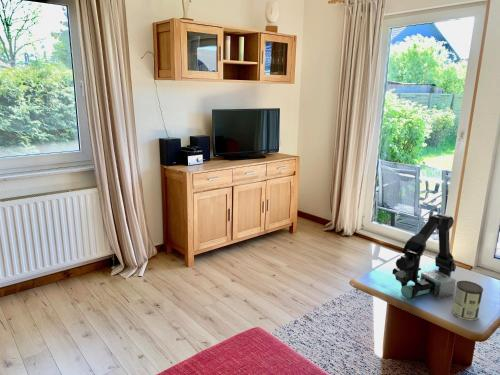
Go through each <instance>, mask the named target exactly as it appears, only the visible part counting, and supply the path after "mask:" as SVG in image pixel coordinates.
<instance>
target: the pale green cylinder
mask: <svg viewBox="0 0 500 375" xmlns="http://www.w3.org/2000/svg"><path fill="white" fill-rule="evenodd" d="M413 285H415V283H413V284H409V285H408V284H407V286H401V289H400V293H401V295H402V296H403V298H405V299H411V298H413V297H412V291H413V288H412V287H411V286H413ZM429 291H430V289H428V290H424V291H419V292H418V293H417V294H416V296H415V297H417V296H422V295H426V294H429Z"/></svg>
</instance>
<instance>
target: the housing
mask: <svg viewBox="0 0 500 375" xmlns="http://www.w3.org/2000/svg"><path fill="white" fill-rule="evenodd" d="M421 280H424V281H426V282H428V283H429V284H430V291H429V293H430V295H432V296H434V297H436V298H437V299H441V298H445V297H450V296H452V295H454V291H455V286H456V285H455V284H456V282H457V281H456V279H454V278H452V277H451V276H450V277H449V276H447V275H445V274H443V273H441V272H439V271H438V270H437V269H431V270H426V271H422V272H421V273H420V277H419V281H421ZM429 293H428V294H429Z"/></svg>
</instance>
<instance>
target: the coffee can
mask: <svg viewBox="0 0 500 375" xmlns="http://www.w3.org/2000/svg"><path fill="white" fill-rule="evenodd" d="M455 286H456V288H455V293H454V298H453V305H452V309H451V310H452V313H453V314H454V315H455V316H456V317H458V318H460V319H462V320H467V321H476V320H478V317H479V316H478V315H479V312H480V305H481V301H482V296H483V291H484V288H483V286H481V285H480V284H478V283H476V282H473V281H469V280H458V281H456V285H455Z"/></svg>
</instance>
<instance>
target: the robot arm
mask: <svg viewBox="0 0 500 375" xmlns="http://www.w3.org/2000/svg"><path fill="white" fill-rule="evenodd" d="M454 222H455V221H454V218H453V216H450V215H447V214H443V213H436V214H432V215H430V216H429V217H428V221H426V222H425V224H424V226H423V227H422V228H421V229H420V230H419V232H418V233H417V234H415V235H413V236H411V237H410V238H409V239H408V240H407V241H406V243H405V245H404V247H403V249H402V250H401V253H402V254H403V255H401V256H400V257H399V258H398V259H396V261H395V266H396V267H394V268H393V269H392V275H394V276H395V280H396V281H398V282H399V283H400V284H401V287H402V286H408V283H409V282H412V283H413V284H415V285H413V286H411V287H412V288H413V291H412V297H411V298H415V297H417V296H416V294H417V293H418V292H419V291H424V290H428V289H430V284H429V283H428V282H426V281H424V280H421V281H420V277H421V275H420V274H419V271H422V270H421V269H422V268H421V267H420V263H421V257H422V256H423V255H424V254H423V253H424V252H425V250H426V247H427V242H428V240H429V238H431V236H432V235H433V233H434V232H435V231H436V229H437V231H438V254H437V255H436V256H435V257H434V259H435V261H434V262H435V263H434V264H435V267H438V270H437V271H439V272H441V273H443V274H445V275H447V276H449V277H451V276H452V272H454V273H455V272H456V268H457V265H456V262H455V260H454V256H453V255H452V253H451V252H450V250H451V248H450V247H451V245H450V243H451V242H450V230H451V228H452V227H453V226H454V224H455V223H454Z"/></svg>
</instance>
